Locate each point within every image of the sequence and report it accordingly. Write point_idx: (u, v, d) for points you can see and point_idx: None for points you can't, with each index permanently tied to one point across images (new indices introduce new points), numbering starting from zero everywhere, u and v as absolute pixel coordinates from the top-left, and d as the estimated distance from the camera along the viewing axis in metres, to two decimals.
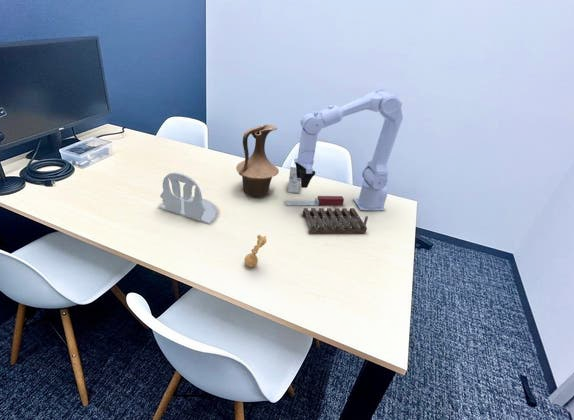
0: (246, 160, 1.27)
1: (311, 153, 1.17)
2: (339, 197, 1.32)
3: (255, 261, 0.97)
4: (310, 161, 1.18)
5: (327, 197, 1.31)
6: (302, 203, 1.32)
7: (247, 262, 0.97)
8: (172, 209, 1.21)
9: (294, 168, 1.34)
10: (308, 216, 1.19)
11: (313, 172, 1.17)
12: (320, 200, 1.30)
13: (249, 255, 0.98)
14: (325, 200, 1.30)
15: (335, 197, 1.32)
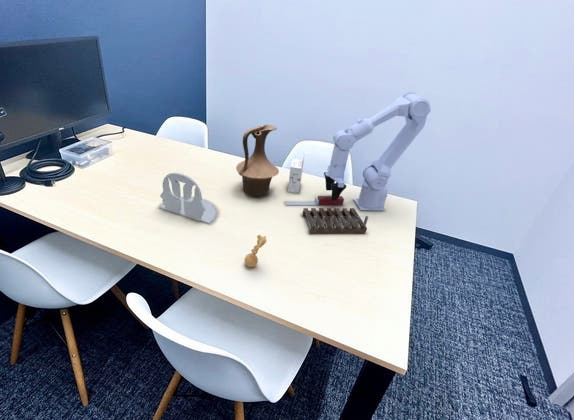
0: (246, 160, 1.27)
1: (342, 167, 1.22)
2: (339, 197, 1.32)
3: (255, 261, 0.97)
4: (341, 175, 1.24)
5: (327, 197, 1.31)
6: (302, 203, 1.32)
7: (247, 262, 0.97)
8: (172, 209, 1.21)
9: (294, 168, 1.34)
10: (308, 216, 1.19)
11: (344, 186, 1.23)
12: (320, 200, 1.30)
13: (249, 255, 0.98)
14: (325, 200, 1.30)
15: None
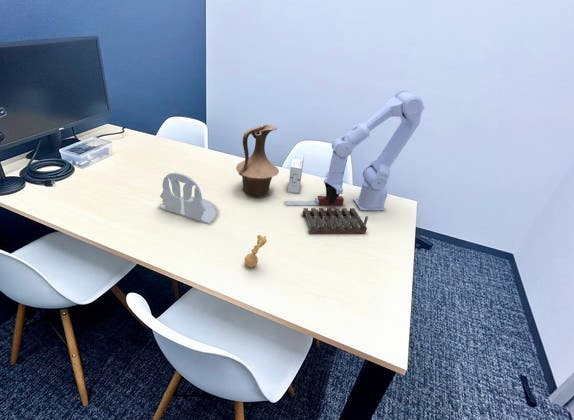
0: (246, 160, 1.27)
1: (341, 174, 1.23)
2: (339, 197, 1.32)
3: (255, 261, 0.97)
4: (340, 182, 1.25)
5: (327, 197, 1.31)
6: (302, 203, 1.32)
7: (247, 262, 0.97)
8: (172, 209, 1.21)
9: (294, 168, 1.34)
10: (308, 216, 1.19)
11: None
12: (320, 200, 1.30)
13: (249, 255, 0.98)
14: (325, 200, 1.30)
15: None
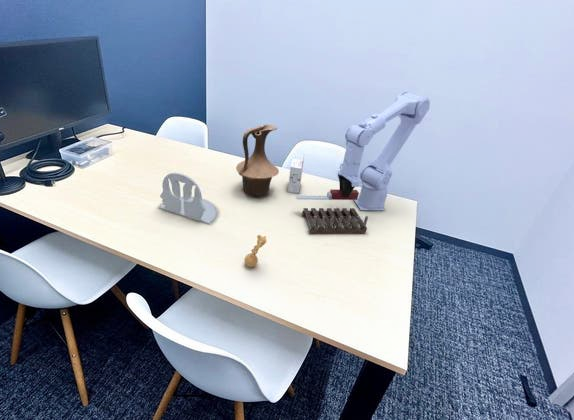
0: (246, 160, 1.27)
1: (357, 166, 1.14)
2: (353, 191, 1.22)
3: (255, 261, 0.97)
4: (355, 174, 1.15)
5: (341, 191, 1.22)
6: (314, 197, 1.22)
7: (247, 262, 0.97)
8: (172, 209, 1.21)
9: (294, 168, 1.34)
10: (308, 216, 1.19)
11: None
12: (333, 194, 1.21)
13: (249, 255, 0.98)
14: (338, 193, 1.21)
15: None
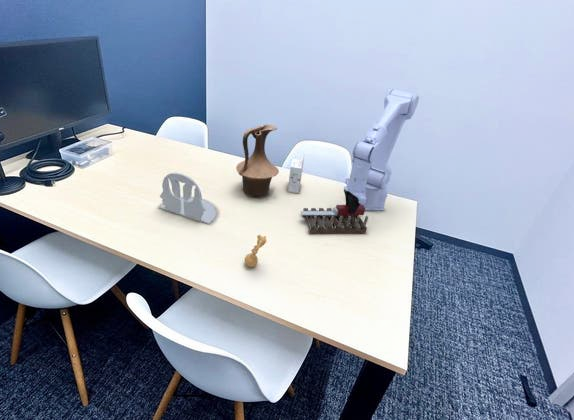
0: (246, 160, 1.27)
1: (364, 182, 1.11)
2: (360, 206, 1.20)
3: (255, 261, 0.97)
4: (362, 190, 1.13)
5: (347, 206, 1.19)
6: (319, 213, 1.19)
7: (247, 262, 0.97)
8: (172, 209, 1.21)
9: (294, 168, 1.34)
10: (308, 216, 1.19)
11: None
12: (339, 209, 1.18)
13: (249, 255, 0.98)
14: (344, 209, 1.18)
15: None
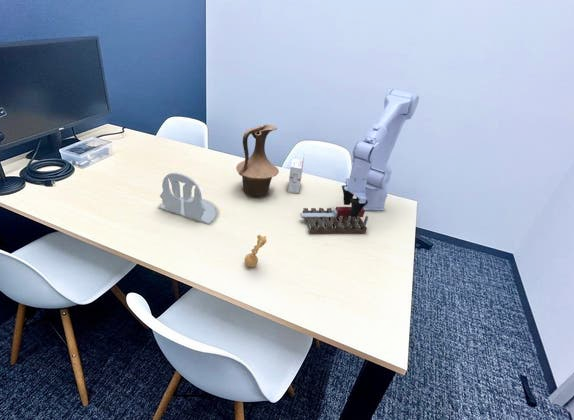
0: (246, 160, 1.27)
1: (364, 181, 1.11)
2: None
3: (255, 261, 0.97)
4: (362, 189, 1.13)
5: (346, 208, 1.20)
6: (319, 215, 1.20)
7: (247, 262, 0.97)
8: (172, 209, 1.21)
9: (294, 168, 1.34)
10: None
11: (365, 202, 1.12)
12: (339, 211, 1.19)
13: (249, 255, 0.98)
14: (344, 211, 1.19)
15: None
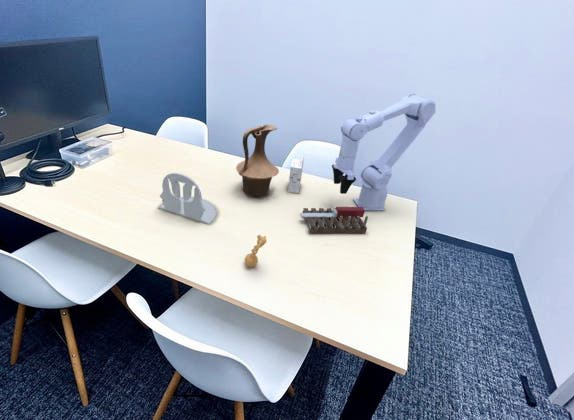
0: (246, 160, 1.27)
1: (352, 159, 1.16)
2: (359, 208, 1.20)
3: (255, 261, 0.97)
4: (350, 167, 1.18)
5: (346, 208, 1.20)
6: (319, 215, 1.20)
7: (247, 262, 0.97)
8: (171, 209, 1.21)
9: (294, 168, 1.34)
10: None
11: (354, 178, 1.17)
12: (339, 211, 1.19)
13: (249, 255, 0.98)
14: (344, 211, 1.19)
15: (355, 208, 1.20)
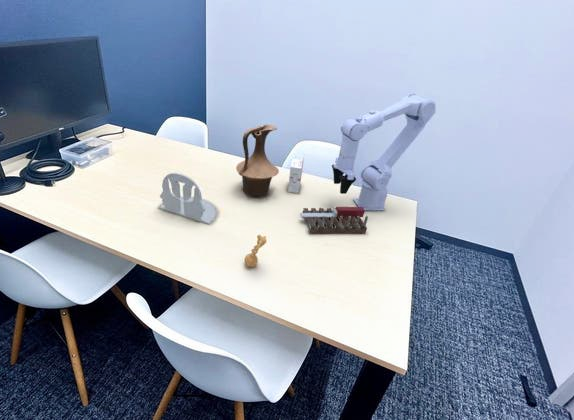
0: (246, 160, 1.27)
1: (352, 159, 1.16)
2: (359, 208, 1.20)
3: (255, 261, 0.97)
4: (350, 167, 1.18)
5: (346, 208, 1.20)
6: (319, 215, 1.20)
7: (247, 262, 0.97)
8: (171, 209, 1.21)
9: (294, 168, 1.34)
10: None
11: (354, 178, 1.17)
12: (339, 211, 1.19)
13: (249, 255, 0.98)
14: (344, 211, 1.19)
15: (355, 208, 1.20)
